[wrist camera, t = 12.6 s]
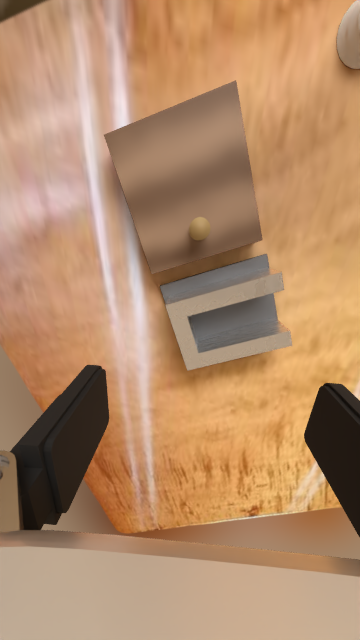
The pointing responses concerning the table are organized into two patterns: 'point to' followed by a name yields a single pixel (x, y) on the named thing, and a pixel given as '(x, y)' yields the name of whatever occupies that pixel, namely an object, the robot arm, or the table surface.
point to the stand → (188, 179)
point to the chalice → (350, 37)
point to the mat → (229, 314)
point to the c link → (233, 340)
